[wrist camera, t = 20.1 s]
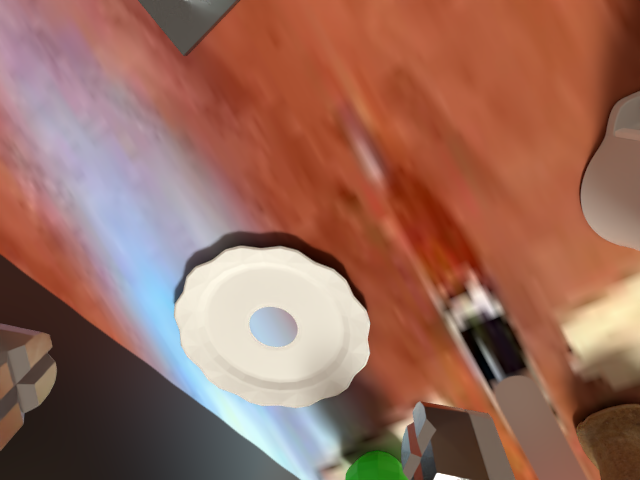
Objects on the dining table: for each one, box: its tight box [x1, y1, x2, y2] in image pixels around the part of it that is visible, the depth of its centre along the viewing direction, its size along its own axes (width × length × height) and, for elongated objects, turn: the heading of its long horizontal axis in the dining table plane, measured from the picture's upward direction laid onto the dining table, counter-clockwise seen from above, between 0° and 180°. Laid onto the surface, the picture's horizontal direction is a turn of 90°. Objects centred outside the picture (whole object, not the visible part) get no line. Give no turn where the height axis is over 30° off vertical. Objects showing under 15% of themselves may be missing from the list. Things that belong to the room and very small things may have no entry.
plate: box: [174, 245, 370, 408], centre depth 50 cm, size 25×25×2 cm
